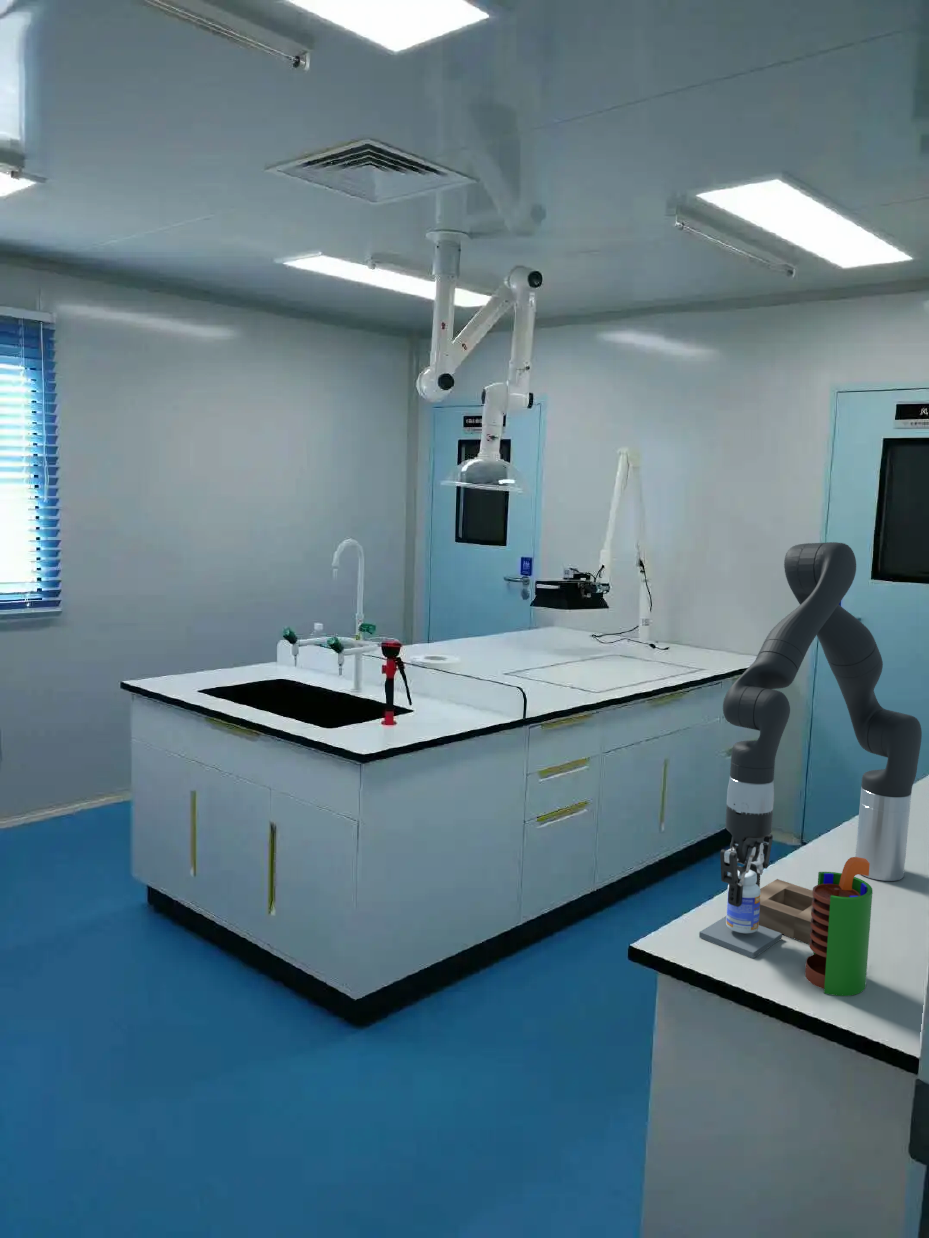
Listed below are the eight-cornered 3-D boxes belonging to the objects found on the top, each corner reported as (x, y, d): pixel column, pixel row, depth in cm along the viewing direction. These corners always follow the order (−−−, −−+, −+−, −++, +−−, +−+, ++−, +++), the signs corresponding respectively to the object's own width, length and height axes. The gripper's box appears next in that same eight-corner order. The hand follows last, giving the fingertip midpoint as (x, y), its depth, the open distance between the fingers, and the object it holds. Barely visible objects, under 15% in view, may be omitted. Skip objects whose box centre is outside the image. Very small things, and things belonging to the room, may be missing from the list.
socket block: (775, 899, 181) (777, 878, 180) (841, 921, 172) (843, 900, 171) (742, 919, 172) (743, 898, 171) (810, 944, 163) (811, 922, 163)
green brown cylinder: (793, 963, 157) (802, 845, 154) (846, 962, 157) (856, 845, 154) (821, 996, 147) (831, 871, 144) (877, 995, 147) (889, 870, 144)
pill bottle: (759, 935, 161) (763, 880, 160) (726, 932, 163) (729, 877, 161) (756, 921, 167) (760, 868, 165) (724, 918, 168) (727, 865, 166)
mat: (728, 919, 172) (729, 914, 172) (781, 938, 165) (781, 933, 165) (699, 937, 165) (699, 931, 165) (752, 958, 158) (753, 952, 158)
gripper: (750, 789, 169) (744, 880, 172) (707, 808, 159) (701, 905, 161) (790, 799, 164) (783, 894, 166) (749, 819, 154) (742, 920, 156)
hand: (743, 899), depth 164 cm, fingers closed on pill bottle, 5 cm apart
